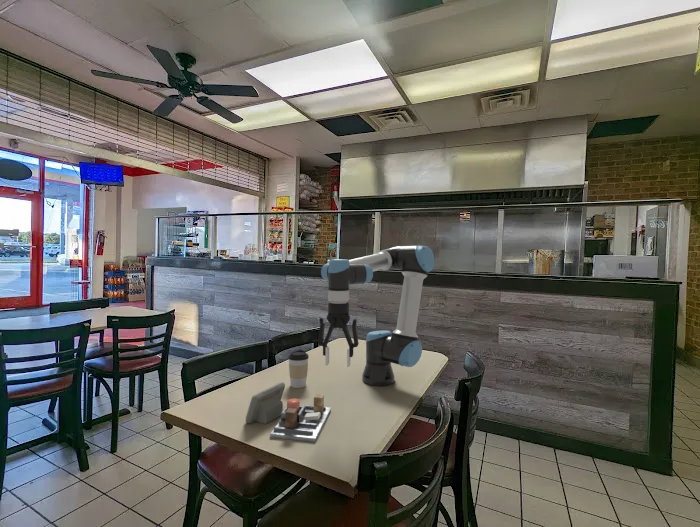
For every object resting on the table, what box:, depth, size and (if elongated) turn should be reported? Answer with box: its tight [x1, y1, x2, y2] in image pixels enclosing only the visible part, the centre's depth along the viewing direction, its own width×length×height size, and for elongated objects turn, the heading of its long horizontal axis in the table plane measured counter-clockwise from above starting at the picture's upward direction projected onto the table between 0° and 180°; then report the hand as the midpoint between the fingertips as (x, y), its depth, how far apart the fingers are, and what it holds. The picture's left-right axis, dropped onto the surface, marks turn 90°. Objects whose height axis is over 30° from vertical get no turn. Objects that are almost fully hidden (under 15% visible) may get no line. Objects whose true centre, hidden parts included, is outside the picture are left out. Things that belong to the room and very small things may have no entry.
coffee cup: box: [287, 349, 309, 389], centre depth 154 cm, size 9×9×15 cm
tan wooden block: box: [313, 393, 325, 412], centre depth 125 cm, size 3×3×6 cm
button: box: [286, 398, 301, 412], centre depth 120 cm, size 4×4×3 cm
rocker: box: [304, 412, 321, 420], centre depth 119 cm, size 5×3×1 cm, turn 80°
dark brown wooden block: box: [285, 408, 297, 429], centre depth 113 cm, size 3×3×6 cm
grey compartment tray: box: [269, 404, 332, 443], centre depth 119 cm, size 15×22×4 cm
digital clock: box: [245, 382, 286, 425], centre depth 123 cm, size 16×9×11 cm, turn 139°
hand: (337, 364), depth 123 cm, fingers open, 7 cm apart
